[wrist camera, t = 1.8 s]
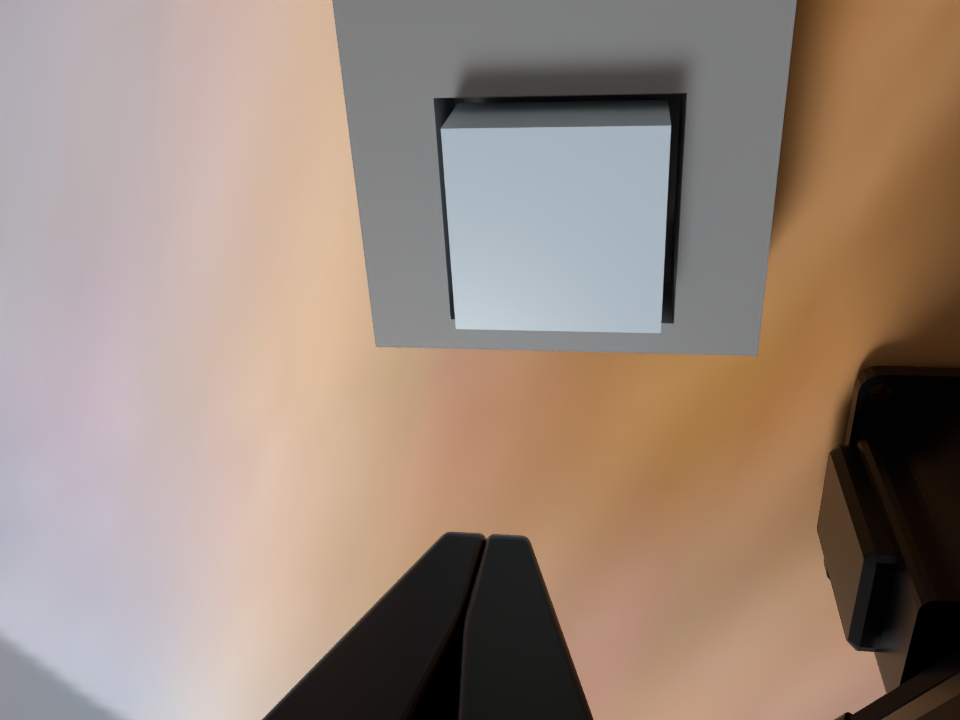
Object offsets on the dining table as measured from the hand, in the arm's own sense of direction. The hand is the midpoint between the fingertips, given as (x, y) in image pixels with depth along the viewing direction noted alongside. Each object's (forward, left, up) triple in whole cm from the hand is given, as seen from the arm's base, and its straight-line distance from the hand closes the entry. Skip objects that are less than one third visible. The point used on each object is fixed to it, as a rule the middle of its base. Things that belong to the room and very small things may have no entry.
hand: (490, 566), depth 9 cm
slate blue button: (0, 0, -11) cm, 11 cm away
